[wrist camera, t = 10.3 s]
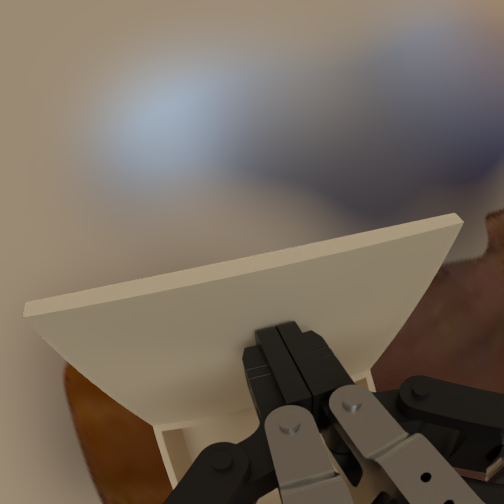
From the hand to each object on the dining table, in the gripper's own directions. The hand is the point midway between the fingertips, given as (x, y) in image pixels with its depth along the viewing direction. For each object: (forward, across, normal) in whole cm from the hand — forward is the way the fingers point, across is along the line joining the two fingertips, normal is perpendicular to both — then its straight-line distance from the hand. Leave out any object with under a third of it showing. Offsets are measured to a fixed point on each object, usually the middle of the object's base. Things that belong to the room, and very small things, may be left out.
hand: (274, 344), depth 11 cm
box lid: (+2, 0, +3) cm, 3 cm away
